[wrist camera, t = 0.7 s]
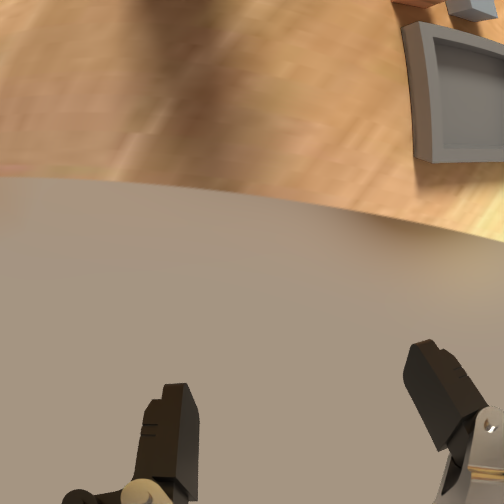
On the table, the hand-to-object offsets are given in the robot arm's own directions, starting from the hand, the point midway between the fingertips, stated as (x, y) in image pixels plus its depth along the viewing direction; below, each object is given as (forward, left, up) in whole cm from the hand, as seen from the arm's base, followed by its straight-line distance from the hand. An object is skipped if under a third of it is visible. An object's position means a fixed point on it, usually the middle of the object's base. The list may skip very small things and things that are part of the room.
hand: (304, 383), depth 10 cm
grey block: (-24, +31, -26) cm, 47 cm away
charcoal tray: (-10, +30, -26) cm, 40 cm away
